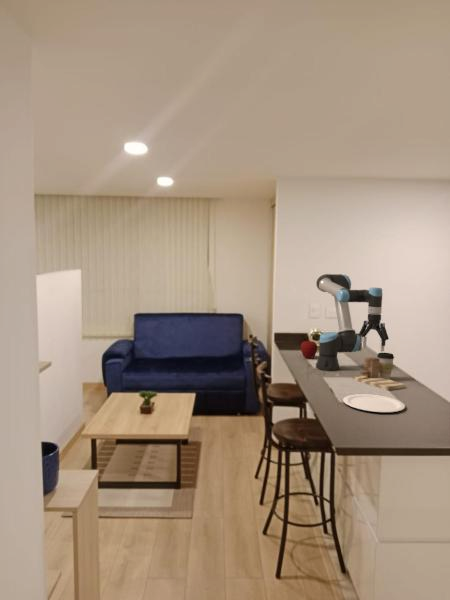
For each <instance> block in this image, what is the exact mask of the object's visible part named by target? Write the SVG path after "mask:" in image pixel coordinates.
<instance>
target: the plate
mask: <svg viewBox="0 0 450 600" xmlns="http://www.w3.org/2000/svg"><path fill="white" fill-rule="evenodd" d="M342 402H343V403H344V404H346V405H347V406H349V407H351V408H353V409H356V410H360V411H365V412H371V413H378V414H379V413H382V414H385V413H386V414H387V413H388V414H390V413H397V412H401V411H403V410H404V409H405V408H406V405H405V404H404V403H403V402H402V401H400V400H398V399H395V398H392V397H389V396H384V395H378V394H369V393H368V394H367V393H362V394H361V393H357V394H350V395H347V396H345V397H343V399H342Z"/></svg>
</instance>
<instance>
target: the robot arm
mask: <svg viewBox="0 0 450 600" xmlns="http://www.w3.org/2000/svg"><path fill="white" fill-rule="evenodd" d="M316 287H317V289H318V290H319V291H320V292H323V293H328V294H330V295H331V296H332V297H333V298H334V304H335V310H336V311H335V312H336V317H337V324H338V331H337V332H336V331H327V332H323V333H321V334H320V335H319V339H318V340H319V342H318V343H319V344H318V345H319V349H318V358H317V360H316V363H315V368H316V369H317V370H321V371H327V372H329V371H330V372H332V371H339V370H340V364H339V363H340V362H339V359H338V353H354V352H357V351H358V350H359V349H360V347H361V348H362V349H363V348H365V349H366V348H367V335H368V334H369V332H370V331H371V330H375V331H376V332H377V334H378V336H379V338H380V342H379V353H383V352H385V346H386V341H387V340H389V338H390V337H389V335H388V333H387V329H386V326H385V325H386V323H385V322H382V321H381V320H382V304H383V289H382V288H381V287H369V289H351V288H352V282H351V279H350V277H349V275H347V274H342V273H339V274H334V273H333V274H331V273H326V274H322V275H320V276H319V277H318V278H317V280H316ZM349 303H367V304H368V308H367V313H368V314H367V320H364V321H363V324H362V327H361V329H360V331H359V334H357V333H356V329H354V328H353V324H352V318H351V312H350V305H349ZM361 343H362V344H361Z"/></svg>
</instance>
